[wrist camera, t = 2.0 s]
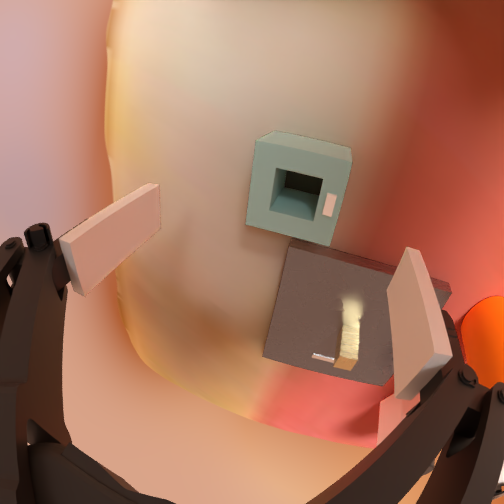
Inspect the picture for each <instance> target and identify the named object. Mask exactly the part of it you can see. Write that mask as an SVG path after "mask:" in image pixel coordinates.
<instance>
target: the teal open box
mask: <svg viewBox="0 0 504 504" xmlns="http://www.w3.org/2000/svg"><path fill="white" fill-rule="evenodd" d="M352 163H353V162H352V154H351V148H349V147H346V146H342V145H338V144H334V143H330V142H326V141H322V140H318V139H313V138H309V137H304V136H300V135H295V134H290V133H285V132H280V131H272V132H271V133H269V134H267V135H265V136H263V137H261V138H259V139H257V140H256V142H255V150H254V158H253V166H252V174H251V182H250V190H249V199H248V207H247V215H246V224H245V225H249V226H253V227H257V228H261V229H265V230H269V231H273V232H276V233H280V234H284V235H288V236H291V237H295V238H299V239H303V240H306V241H310V242H314V243H317V244H321V245H325V246H328V247H330V243H331V240H332V237H333V233H334V230H335V227H336V223H337V220H338V216H339V213H340V209H341V205H342V202H343V198H344V194H345V191H346V187H347V183H348V179H349V175H350V171H351V167H352ZM287 170H288V171H293V172H297V173H301V174H305V175H310V176H314V177H318V178H321V179H323V182H322V187H321V191H320V195H315V194H311V193H307V192H303V191H299V190H295V189H291V188H287V187H284V185H285V180H286V174H287Z"/></svg>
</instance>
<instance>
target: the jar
mask: <svg viewBox="0 0 504 504" xmlns="http://www.w3.org/2000/svg"><path fill="white" fill-rule="evenodd" d="M418 402H420V392H419V393H418V394H417V395H416V396H415V397H414V398H413V399H412V400H404V399H397V398H394V394H392V395H390V396H389V397H387V398H385V399H384V400H382V401H380V411H379V425H378V436H377V446H378V445H379V444H380V443H381V442H382V441H383V440H384V439H385V438H386V437H387V436H388V435H389V434H390V433H391V432H392V431H393V430H394V429H395V428H396V427H397V425H398V424H399V423H400V422H401V421H402V420H403V419H404V418H405V417H406V416H407V415H406V413H407V412H408V411H410V410H411V409H412V408H413V407H414V406H415V405H416V404H417V403H418ZM377 446H376V447H377ZM434 461H435V459H434ZM434 461H433V462H432V463H431V465H430V466H429V467H428V469H427V470H426V471H425V472H424V474H423V475H425V474H427V473H429V472H431V471H432V470H433V469H434ZM423 475H422V476H423Z"/></svg>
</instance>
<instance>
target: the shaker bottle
mask: <svg viewBox="0 0 504 504" xmlns="http://www.w3.org/2000/svg"><path fill="white" fill-rule="evenodd" d="M461 335H462V340H463V344H464V350H465V355H466V361H467V365H469V366H470V367H472V369H473V370H474V371H475V372H476V374H477V377H478V382H479V384H481V385H483V386H485V387H487V388H489V389H491V388H492V387H493V386H494V385H495V384H496V383H497V382H502V383H504V297H502V296H493V297H489V298H486V299H484V300H482V301H480V302H479V303H478V304H476V305H475V306H474V307H473V308H472V309H471V310H470V311H469V312H468V313H467V314H466V316H465V318H464V319H463V322H462V325H461ZM501 486H504V462H503V466H502V470H501V474H500V477H499V481H498V484H497V487H496V490H495V493H494V496H493V499H496V498H499V497H501V496H503V495H504V491H502V489H501ZM493 499H492V500H493Z"/></svg>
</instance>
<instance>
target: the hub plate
mask: <svg viewBox="0 0 504 504" xmlns="http://www.w3.org/2000/svg"><path fill="white" fill-rule="evenodd" d="M396 269H397V267H394V266H390V265H387V264H383V263H380V262H376V261H373V260H369V259H366V258H362V257H359V256H355V255H352V254H348V253H345V252H341V251H338V250H334V249H330V248H327V247H323V246H319V245H316V244H312V243H308V242H305V241H301V240H297V239H294V238H292V240H291V242H290V245H289V248H288V252H287V257H286V261H285V266H284V270H283V274H282V279H281V283H280V287H279V291H278V296H277V300H276V304H275V308H274V312H273V316H272V320H271V324H270V328H269V332H268V336H267V340H266V344H265V348H264V352H263V356H262V357H265V358H268V359H272V360H275V361H278V362H282V363H285V364H289V365H292V366H296V367H300V368H304V369H307V370H311V371H315V372H319V373H323V374H327V375H331V376H336V377H340V378H344V379H349V380H354V381H358V382H363V383H368V384H373V385H379V386H384V384H385V383H386V382H387V381H388V380H389V379H390V378H391V376H392V375H393V374H394V363H393V347H392V334H391V323H390V313H389V305H388V297H387V288H388V286H389V284H390V282H391V280H392V278H393V276H394V274H395V271H396ZM430 279H431V282H432V285H433V288H434V291H435V294H436V297H437V300H438V303H439V306H440V309H441V310H442V308H443V306H444V305H445V303H446V302H447V300H448V299H449V297H450V295H451V294H452V291H451V289H450V286H449V283H447V282H443V281H440V280H437V279H434V278H430Z"/></svg>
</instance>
